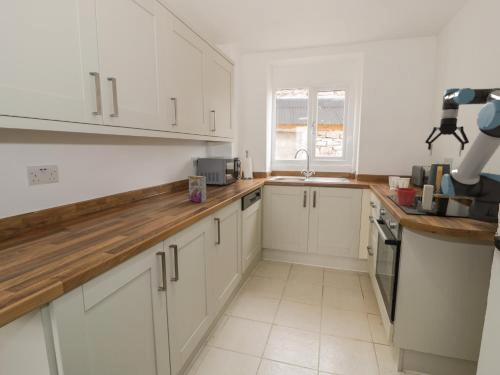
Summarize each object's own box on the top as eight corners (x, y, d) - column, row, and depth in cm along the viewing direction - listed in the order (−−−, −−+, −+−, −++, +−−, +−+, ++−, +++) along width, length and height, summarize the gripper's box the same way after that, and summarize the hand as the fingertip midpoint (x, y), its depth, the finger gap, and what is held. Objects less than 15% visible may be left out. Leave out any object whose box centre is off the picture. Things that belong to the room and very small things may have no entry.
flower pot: (419, 206, 163) (421, 190, 162) (401, 206, 163) (402, 190, 162) (409, 202, 174) (410, 187, 172) (392, 202, 174) (393, 187, 172)
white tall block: (429, 207, 153) (432, 185, 151) (430, 209, 148) (433, 186, 146) (421, 206, 155) (424, 184, 153) (422, 209, 150) (424, 186, 148)
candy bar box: (188, 200, 175) (187, 175, 173) (194, 199, 179) (193, 175, 177) (201, 203, 169) (200, 177, 167) (206, 201, 173) (206, 176, 171)
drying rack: (434, 210, 153) (435, 201, 152) (436, 213, 146) (437, 204, 146) (416, 208, 157) (417, 200, 156) (416, 211, 151) (417, 202, 150)
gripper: (475, 117, 148) (470, 156, 152) (422, 119, 160) (418, 155, 164) (479, 116, 142) (473, 156, 145) (423, 118, 154) (419, 155, 157)
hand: (444, 155), depth 155 cm, fingers open, 13 cm apart
